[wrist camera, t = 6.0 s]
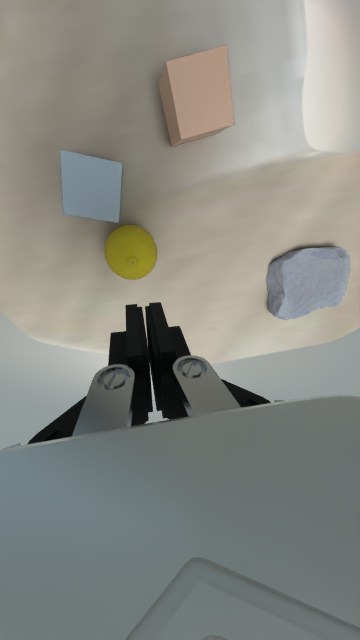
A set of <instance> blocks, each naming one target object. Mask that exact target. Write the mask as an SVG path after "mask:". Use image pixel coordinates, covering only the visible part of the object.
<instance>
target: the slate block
mask: <svg viewBox="0 0 360 640" xmlns="http://www.w3.org/2000/svg"><path fill="white" fill-rule="evenodd" d="M60 156H61V178H62V200H63V214H65V215H71V216H77V217H84V218H90V219H96V220H103V221H109V222H116V223H119V215H120V197H121V179H122V163H119V162H115V161H110V160H106V159H101V158H97V157H92V156H88V155H83V154H79V153H74V152H70V151H65V150H61V149H60Z"/></svg>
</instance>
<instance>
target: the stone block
mask: <svg viewBox="0 0 360 640" xmlns="http://www.w3.org/2000/svg"><path fill="white" fill-rule="evenodd" d="M349 273H350V255H348V254H346V250H345V249H343V248H341V247H327V248H324V247H321V248H306V249H302V250H299V251H293V252H288V253H287V254H285V255H284V256H282V257H280V258H278V259H277V260H275V261H274V262H272V263H271V264H270V265H269V268H268V273H267V277H266V283H267V290H268V307H269V308H268V309H269V311H270V312H271V313H272V314H273V316H275V317H278V318H279V319H284V320H288V319H295V318H298V317H301V316H304V315H306V314H309V313H310V312H312V311H314V310H316V309H319V308H324V307H332V306H337V305H339V304H340V303H341V301H342V298H343V296H344V294H345V290H346V286H347V282H348V278H349Z"/></svg>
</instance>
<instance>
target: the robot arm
mask: <svg viewBox="0 0 360 640" xmlns="http://www.w3.org/2000/svg"><path fill="white" fill-rule="evenodd" d="M145 310H146V325H147V338H146V331H145V325H144V318H143V311H142V307H137V304H133V305H126V331H124V332H114V333H111V338H110V350H109V363H108V366H107V367H105V368H103V369H101V370H100V371H98V372H97V373H96V374H95V376H94V378H93V380H92V383H91V386H90V388H89V391H88V394H87V396H86V397H84V398H83V399H82V400H80V401H79V402H78V403H77V404H75V405H74V406H72V407H71V408H70V409H69V410H67V411H66V412H65V413H63V414H62V415H61V416H59V417H58V418H57V419H56V420H54V421H53V422H52V423H50V424H49V425H48V426H46V427H45V428H44V429H43V430H41V431H40V432H39V433H38V434H36V435H35V436H34V437H33V438H32V439H31V440H30V441H29V443H28V444H27V445H23V446H21V444H20V443H19V444H16V445H13V446H10V447H7V448H4V449H2V450H0V640H360V396H349V395H331V396H318V397H310V398H303V399H294V400H288V401H282V400H281V401H280V400H275V402H274V403H271V402H270V401H269V400H267V399H265V398H263V397H261V396H259V395H256V394H254V393H252V392H250V391H248V390H245V389H243V388H240V387H238V386H236V385H234V384H231V383H229V382H227V381H225V380H222V379H220V377H219V376H218V375H217V373H216V372H215V370H214V369H213V368H212V366H211V365H210V363H209V362H208V361H207V360H205V359H204V358H202V357H199V356H193V355H191V354H190V352H189V349H188V346H187V344H186V341H185V339H184V336H183V334H182V331H181V329H180V327H179V326H175V327H168V324H167V321H166V318H165V315H164V311H163V308H162V305H161V302H158V303H149V306H145ZM147 339H148V345H147ZM149 361H150V362H149ZM150 368H151V375H152V381H153V389H154V395H155V402H156V409H157V411H161V410H162V416H163V418H168V419H170V420H166V421H159V422H153V423H148V424H145V423H146V421H148V412H153V406H152V393H151V377H150Z"/></svg>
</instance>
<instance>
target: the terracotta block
mask: <svg viewBox="0 0 360 640" xmlns="http://www.w3.org/2000/svg"><path fill="white" fill-rule="evenodd" d="M158 87H159V91H160V96H161V100H162V105H163V109H164V114H165V119H166V123H167V128H168V132H169V137H170V142H171V146H172V147H173V146H176V145H180V144H183V143H186V142H190V141H193V140H197V139H200V138H204V137H207V136H210V135H214V134H217V133H219V132H220V131H222V130H224V129H226V128H228V127H230V126H232V125H234V117H233V107H232V97H231V87H230V77H229V67H228V56H227V46H226V45H225V46H221V47H217V48H214V49H210V50H206V51H202V52H199V53H195V54H191V55H188V56H184V57H180V58H177V59H173V60H169V61H166V63H165V66H164V68H163V71H162V74H161V77H160V80H159V82H158Z"/></svg>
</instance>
